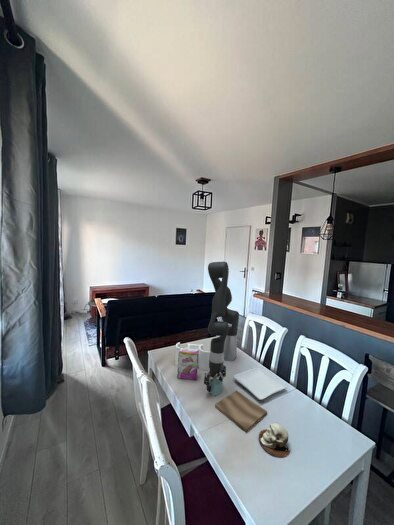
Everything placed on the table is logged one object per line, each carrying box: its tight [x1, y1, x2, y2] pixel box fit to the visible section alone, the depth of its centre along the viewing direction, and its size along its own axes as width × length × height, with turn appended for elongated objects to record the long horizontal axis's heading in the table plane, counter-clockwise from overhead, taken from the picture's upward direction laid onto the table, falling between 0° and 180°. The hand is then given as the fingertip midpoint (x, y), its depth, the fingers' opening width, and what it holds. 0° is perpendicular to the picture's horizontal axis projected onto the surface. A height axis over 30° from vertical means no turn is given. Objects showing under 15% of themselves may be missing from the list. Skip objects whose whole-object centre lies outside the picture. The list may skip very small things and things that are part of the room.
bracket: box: [174, 342, 210, 372], centre depth 140 cm, size 25×10×12 cm, turn 84°
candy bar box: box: [177, 347, 199, 381], centre depth 127 cm, size 11×5×16 cm, turn 84°
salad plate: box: [232, 366, 288, 401], centre depth 123 cm, size 21×21×3 cm
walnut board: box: [214, 389, 268, 433], centre depth 104 cm, size 16×18×2 cm
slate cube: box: [209, 377, 224, 397], centre depth 116 cm, size 6×6×6 cm
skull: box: [258, 422, 291, 458], centre depth 88 cm, size 12×10×10 cm
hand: (214, 387), depth 116 cm, fingers open, 8 cm apart
